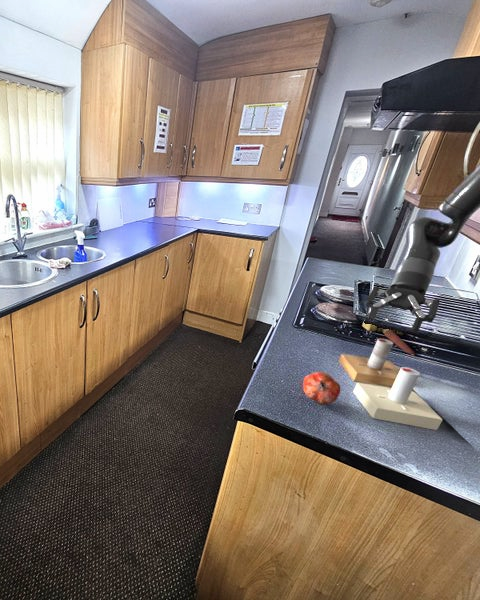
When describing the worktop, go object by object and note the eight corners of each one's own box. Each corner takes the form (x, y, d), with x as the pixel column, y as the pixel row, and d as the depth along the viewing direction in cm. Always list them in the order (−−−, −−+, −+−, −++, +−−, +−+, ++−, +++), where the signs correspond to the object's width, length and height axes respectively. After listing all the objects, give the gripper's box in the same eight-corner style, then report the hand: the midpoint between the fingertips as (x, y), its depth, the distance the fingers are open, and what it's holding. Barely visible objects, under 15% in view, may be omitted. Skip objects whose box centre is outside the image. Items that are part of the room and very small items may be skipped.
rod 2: (401, 396, 78) (415, 367, 75) (409, 405, 75) (424, 375, 72) (384, 393, 79) (398, 364, 76) (392, 402, 76) (406, 372, 73)
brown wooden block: (386, 370, 94) (390, 360, 92) (407, 391, 85) (412, 381, 84) (338, 362, 97) (341, 353, 96) (353, 382, 88) (357, 372, 87)
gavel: (439, 356, 95) (398, 351, 98) (432, 368, 97) (391, 363, 100) (399, 320, 113) (365, 316, 115) (394, 331, 115) (360, 327, 117)
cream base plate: (409, 401, 81) (415, 391, 80) (437, 430, 72) (443, 419, 71) (352, 391, 84) (357, 381, 83) (372, 418, 75) (377, 407, 74)
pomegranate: (299, 393, 87) (292, 386, 80) (316, 370, 86) (310, 362, 79) (330, 412, 81) (325, 407, 74) (348, 388, 80) (345, 381, 74)
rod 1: (378, 364, 91) (389, 338, 88) (384, 370, 88) (396, 344, 85) (364, 362, 92) (375, 336, 88) (370, 368, 89) (381, 342, 86)
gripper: (381, 265, 95) (360, 311, 92) (452, 277, 85) (431, 329, 83) (377, 278, 100) (357, 322, 98) (443, 291, 91) (423, 340, 88)
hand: (391, 325), depth 90 cm, fingers open, 8 cm apart
